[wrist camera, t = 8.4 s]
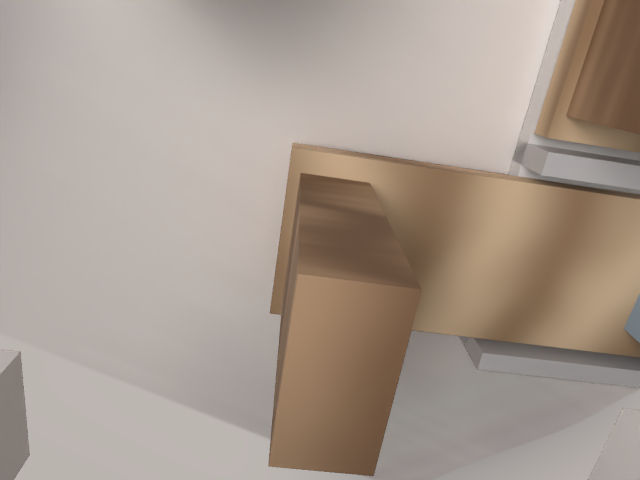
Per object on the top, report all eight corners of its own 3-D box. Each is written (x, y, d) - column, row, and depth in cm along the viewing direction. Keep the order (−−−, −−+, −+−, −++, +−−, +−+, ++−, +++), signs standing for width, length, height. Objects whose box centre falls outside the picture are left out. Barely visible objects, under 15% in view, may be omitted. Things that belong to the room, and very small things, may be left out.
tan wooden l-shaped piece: (271, 301, 24) (247, 491, 14) (292, 142, 21) (282, 231, 11) (711, 354, 26) (978, 554, 16) (784, 216, 23) (1169, 350, 13)
